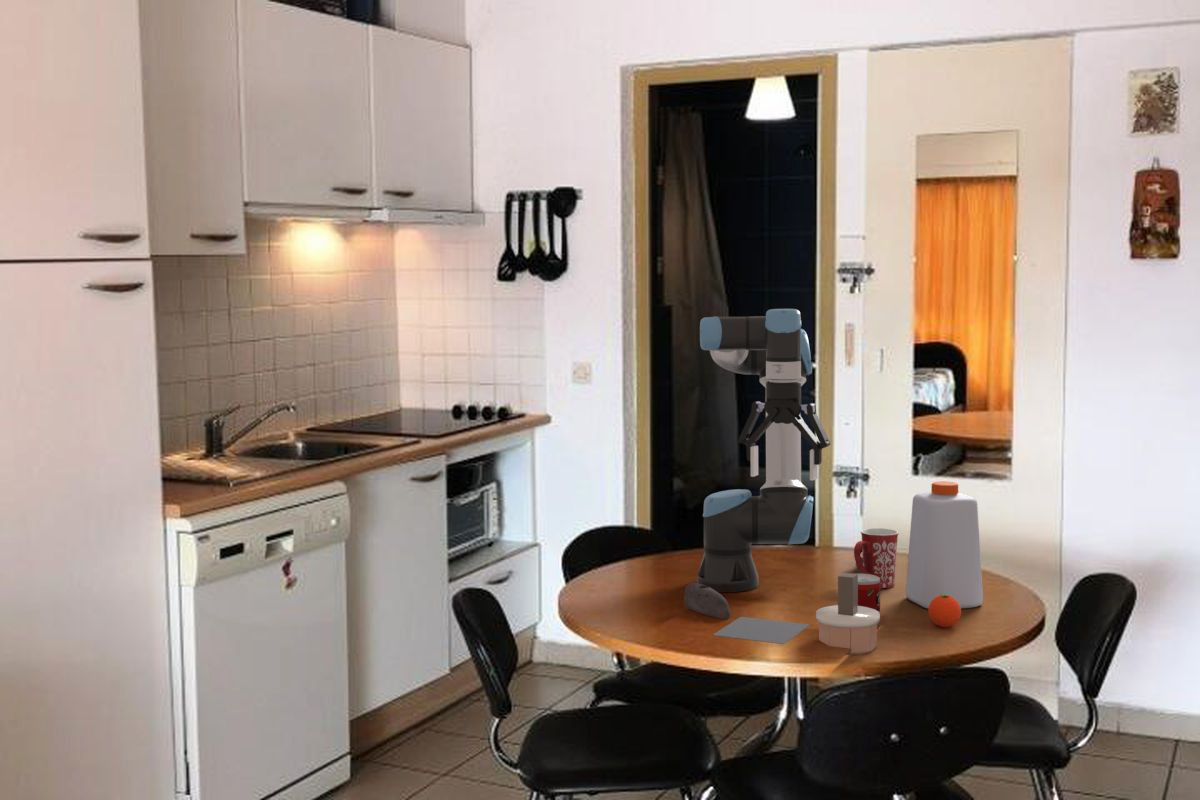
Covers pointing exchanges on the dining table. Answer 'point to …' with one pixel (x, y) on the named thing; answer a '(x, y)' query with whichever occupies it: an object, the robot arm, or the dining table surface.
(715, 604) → the perforated stone tool
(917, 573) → the plastic bottle
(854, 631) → the pink faceted pot
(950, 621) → the clementine
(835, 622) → the lid
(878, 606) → the canned food
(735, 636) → the plate
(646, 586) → the dining table surface
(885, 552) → the mug
